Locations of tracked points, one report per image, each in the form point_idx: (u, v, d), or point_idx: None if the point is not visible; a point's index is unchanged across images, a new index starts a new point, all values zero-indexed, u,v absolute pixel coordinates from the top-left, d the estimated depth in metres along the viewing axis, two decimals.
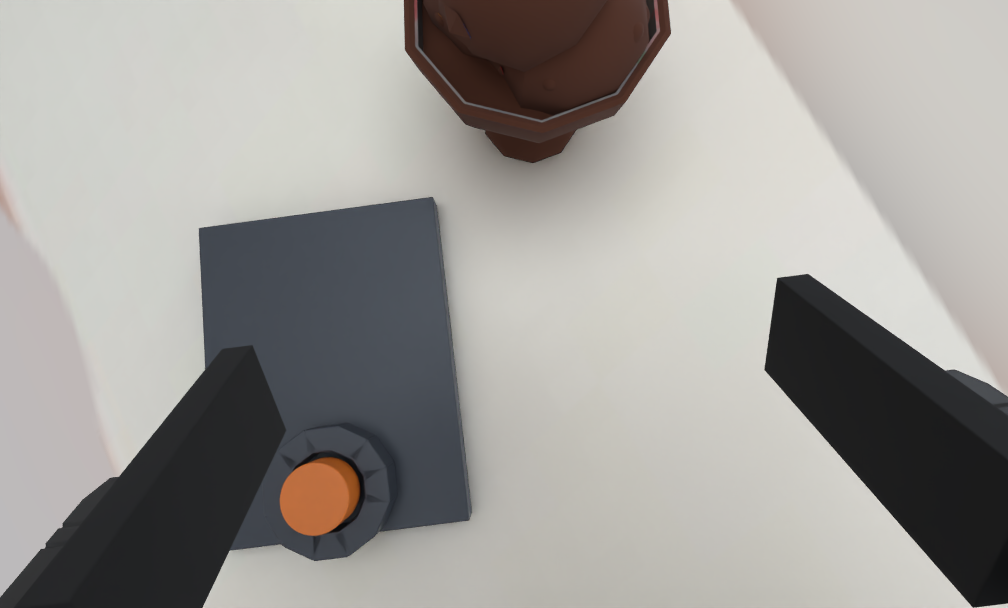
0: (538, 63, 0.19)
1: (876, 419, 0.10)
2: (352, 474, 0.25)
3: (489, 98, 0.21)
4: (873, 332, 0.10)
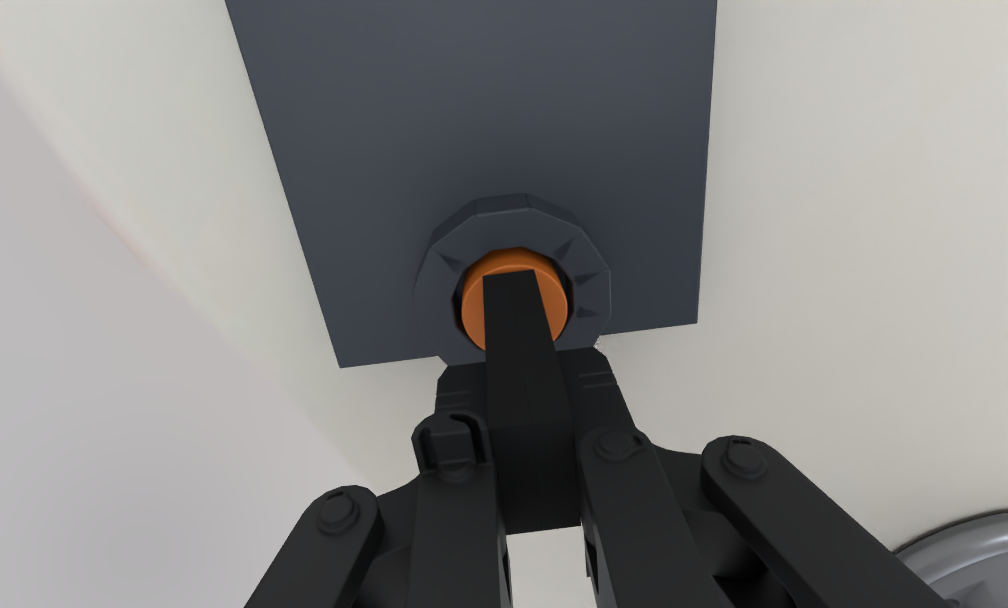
0: None
1: None
2: (555, 271, 0.16)
3: None
4: (534, 316, 0.12)
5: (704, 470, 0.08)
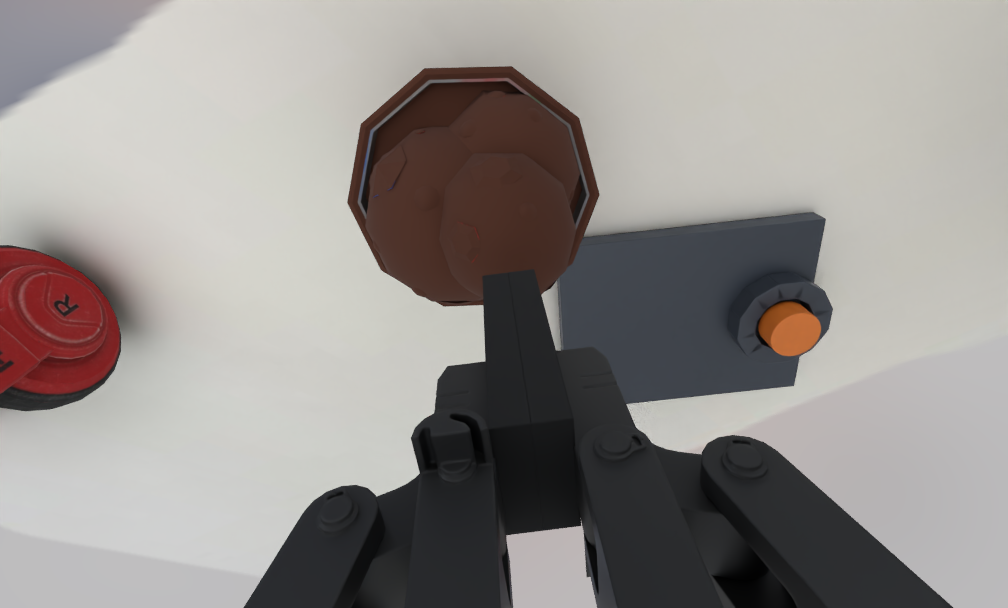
0: None
1: None
2: (779, 307, 0.34)
3: None
4: (534, 316, 0.12)
5: (704, 470, 0.08)
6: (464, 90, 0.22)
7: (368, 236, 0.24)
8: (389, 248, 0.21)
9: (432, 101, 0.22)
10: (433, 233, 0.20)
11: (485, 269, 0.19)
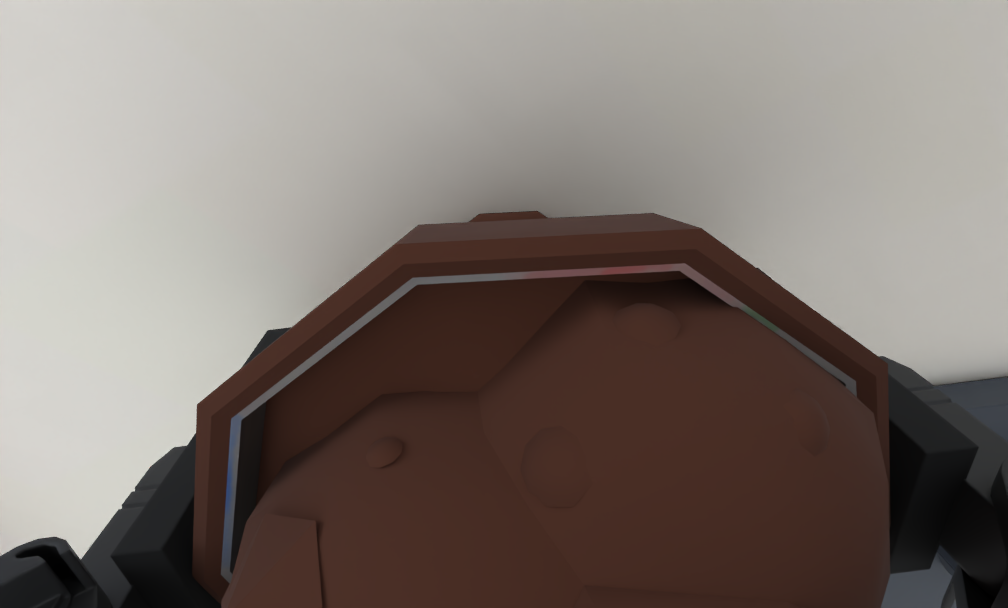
0: None
1: None
2: None
3: None
4: None
5: None
6: (526, 283, 0.07)
7: None
8: None
9: (426, 318, 0.07)
10: None
11: None
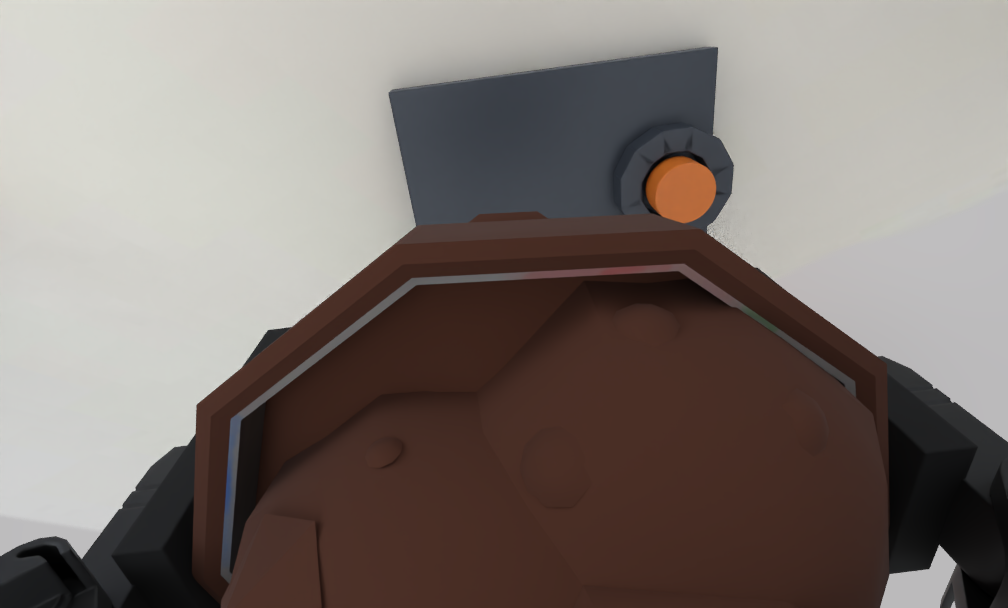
0: None
1: None
2: (665, 162, 0.27)
3: None
4: None
5: None
6: (525, 283, 0.07)
7: None
8: None
9: (425, 318, 0.07)
10: None
11: None
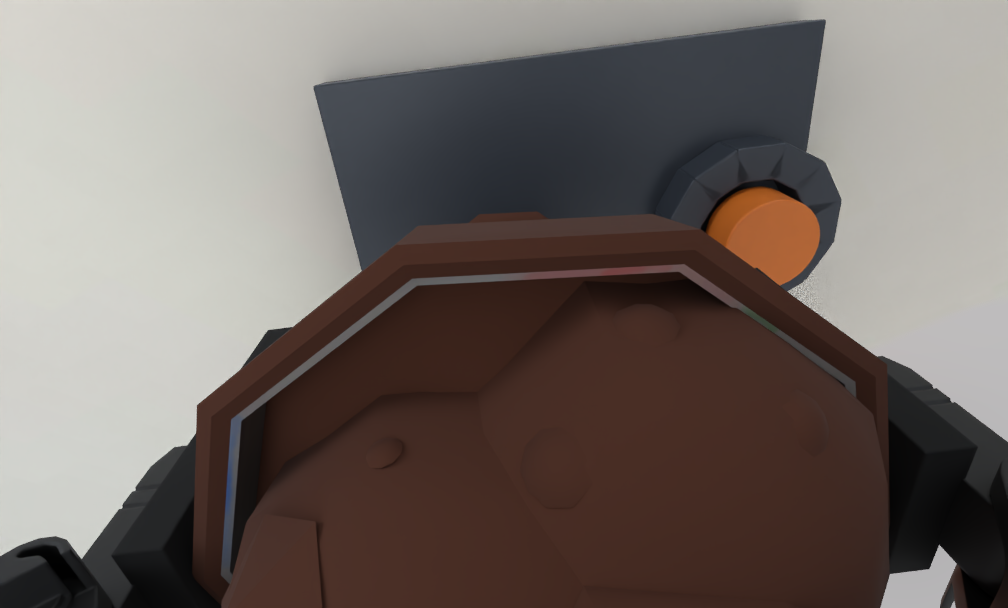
0: None
1: None
2: (740, 197, 0.18)
3: None
4: None
5: None
6: (526, 283, 0.07)
7: None
8: None
9: (426, 318, 0.07)
10: None
11: None
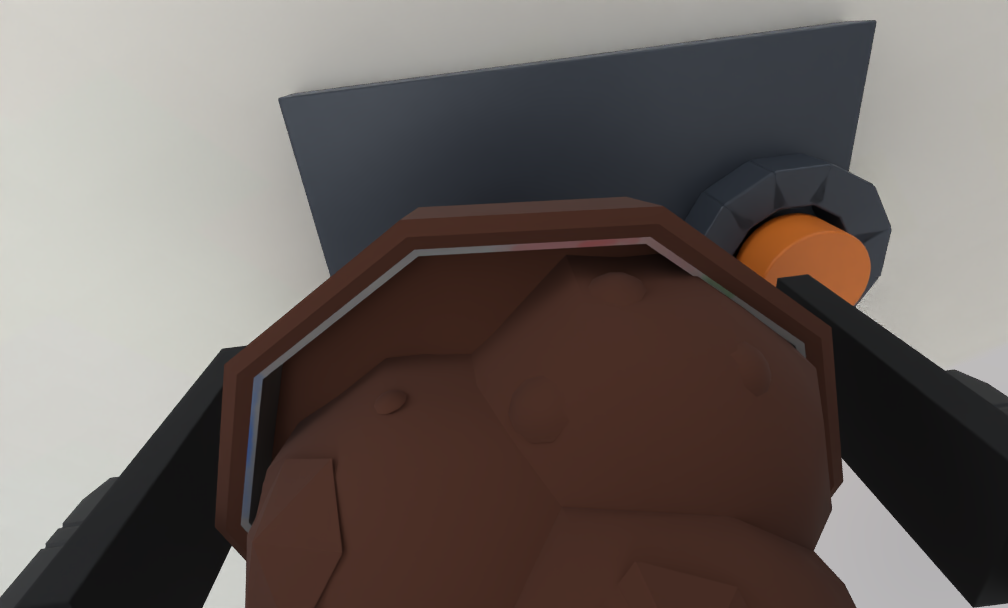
0: None
1: (876, 419, 0.10)
2: (776, 226, 0.15)
3: None
4: (873, 332, 0.10)
5: None
6: (514, 257, 0.08)
7: None
8: None
9: (426, 288, 0.08)
10: None
11: None
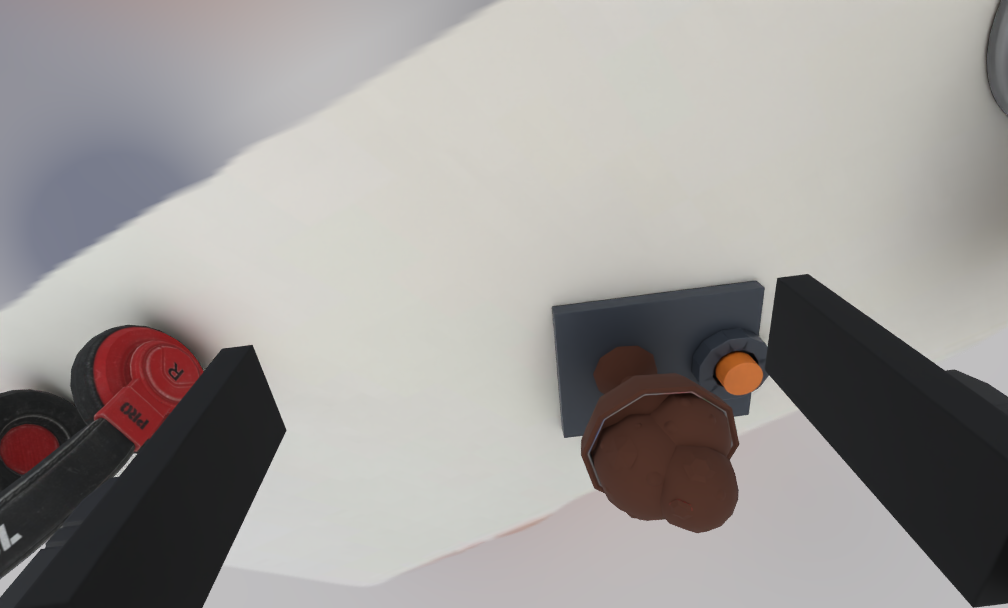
0: None
1: (876, 419, 0.10)
2: (730, 357, 0.42)
3: None
4: (873, 332, 0.10)
5: None
6: None
7: (590, 471, 0.37)
8: (623, 499, 0.34)
9: (640, 399, 0.35)
10: (656, 497, 0.33)
11: (693, 524, 0.32)
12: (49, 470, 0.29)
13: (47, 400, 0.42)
